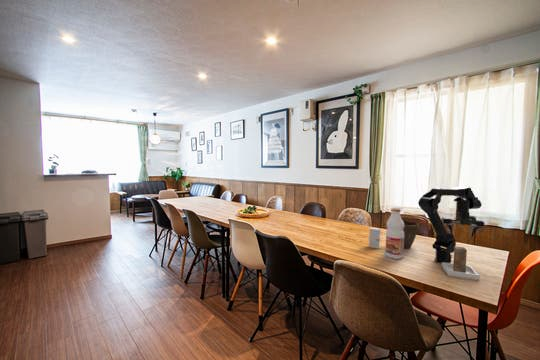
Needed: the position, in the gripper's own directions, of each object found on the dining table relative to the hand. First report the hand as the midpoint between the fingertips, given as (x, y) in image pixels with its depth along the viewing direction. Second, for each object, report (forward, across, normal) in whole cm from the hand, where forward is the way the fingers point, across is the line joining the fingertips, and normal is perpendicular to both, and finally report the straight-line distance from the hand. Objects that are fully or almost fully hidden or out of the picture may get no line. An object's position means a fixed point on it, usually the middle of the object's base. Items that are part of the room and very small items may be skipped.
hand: (461, 236), depth 141 cm
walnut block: (+12, -6, -23) cm, 27 cm away
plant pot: (+13, -27, +13) cm, 33 cm away
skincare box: (+13, -45, +4) cm, 47 cm away
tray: (+13, -6, -23) cm, 27 cm away
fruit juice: (+13, -34, -10) cm, 38 cm away
